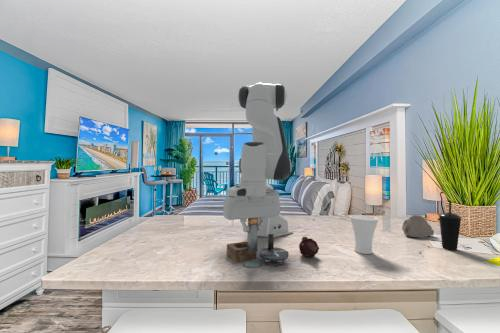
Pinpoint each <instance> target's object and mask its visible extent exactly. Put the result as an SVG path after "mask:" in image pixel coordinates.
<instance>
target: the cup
mask: <svg viewBox="0 0 500 333" xmlns="http://www.w3.org/2000/svg"><path fill="white" fill-rule="evenodd" d="M349 219H350V222H351V225H352V229H353V233H354V241H355V242H354V251H355V252H356V253H358V254H363V255H371V254H373V239H374V236H375V235H374V234H375V230H376V228H377V225H378V223H379V220H380V219H379V218H378V217H376V216H371V215H366V214H365V215H364V214H353V215H350V216H349Z"/></svg>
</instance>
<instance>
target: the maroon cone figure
mask: <svg viewBox="0 0 500 333" xmlns="http://www.w3.org/2000/svg"><path fill="white" fill-rule="evenodd" d="M298 246H299V247H298V248H299V253H300V254H301V255H302V256H304V257H305V258H314V257H315V256H316V254H318V253H319V249H320V247H319V245H318V243H317V241H316V240H314V239H313V238H308V236H303V237H302V238H301V241H300V243H299V244H298Z"/></svg>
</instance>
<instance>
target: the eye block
mask: <svg viewBox="0 0 500 333" xmlns="http://www.w3.org/2000/svg"><path fill="white" fill-rule="evenodd" d="M226 256H228V257H229V258H230V259H231V260H233V261H234V262H235V263H239V262H243V261H244V262H245V261H249V260H255V259H257V252H248V251H247V240H246V241H239V242H233V243H227V244H226Z"/></svg>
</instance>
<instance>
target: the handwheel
mask: <svg viewBox="0 0 500 333" xmlns="http://www.w3.org/2000/svg"><path fill="white" fill-rule="evenodd" d="M274 239H275V237H274V234H268V237H267V247H265V248H262V249H260V250H259V257H260V258H261V259H263V260H272V261H280V260H282V261H285V260H287V259H288V258H289V256H290V255H289V251H288V250H287V249H284V248H280V247H274V246H275V245H274V242H275V240H274Z"/></svg>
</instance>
